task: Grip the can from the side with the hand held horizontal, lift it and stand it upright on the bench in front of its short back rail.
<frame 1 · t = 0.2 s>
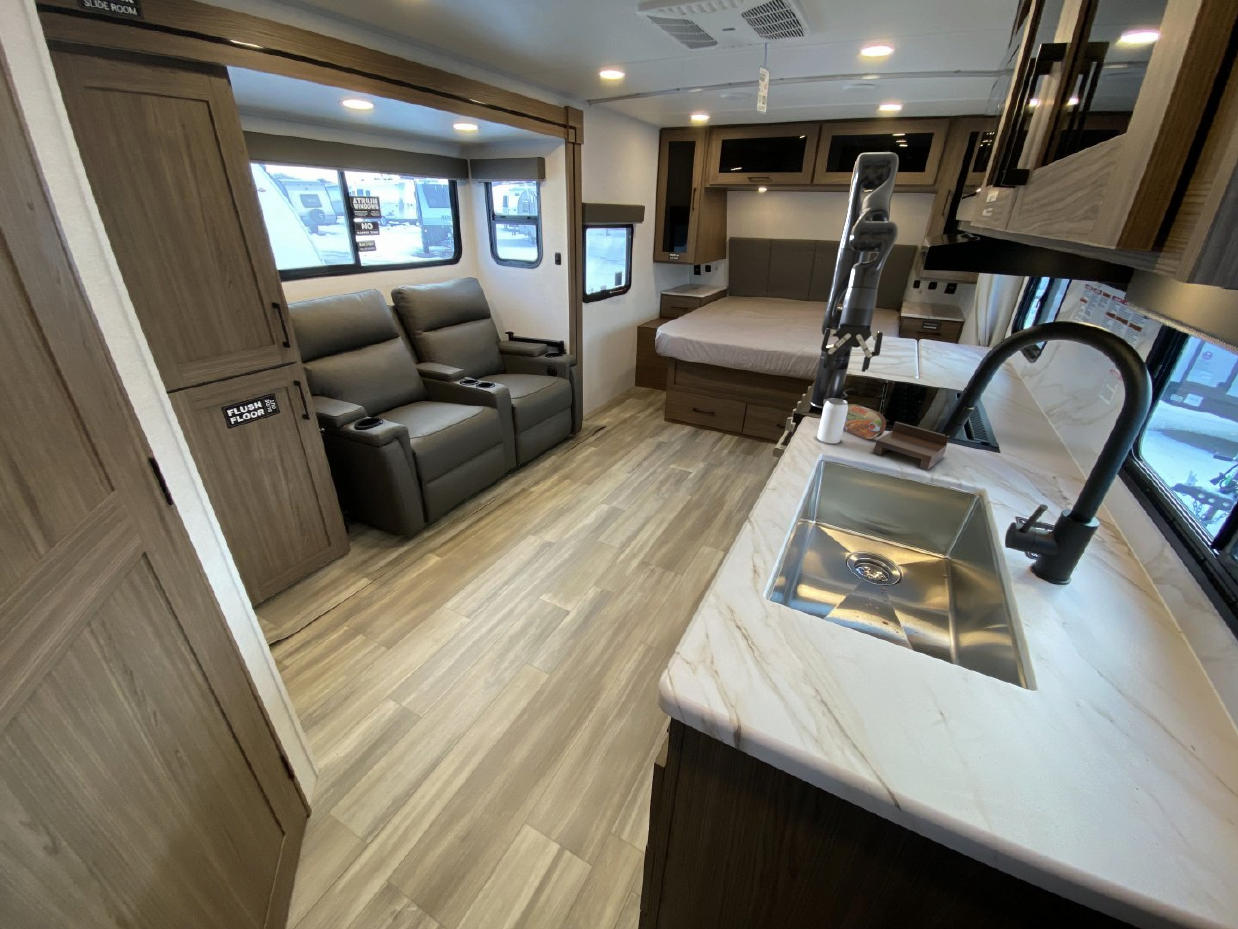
hand: (845, 369, 132), 22 cm above the worktop, tool pointing down, fingers open, 8 cm apart
bench: (907, 455, 137), on the worktop
can: (828, 440, 145), on the worktop
tin: (858, 434, 150), on the worktop
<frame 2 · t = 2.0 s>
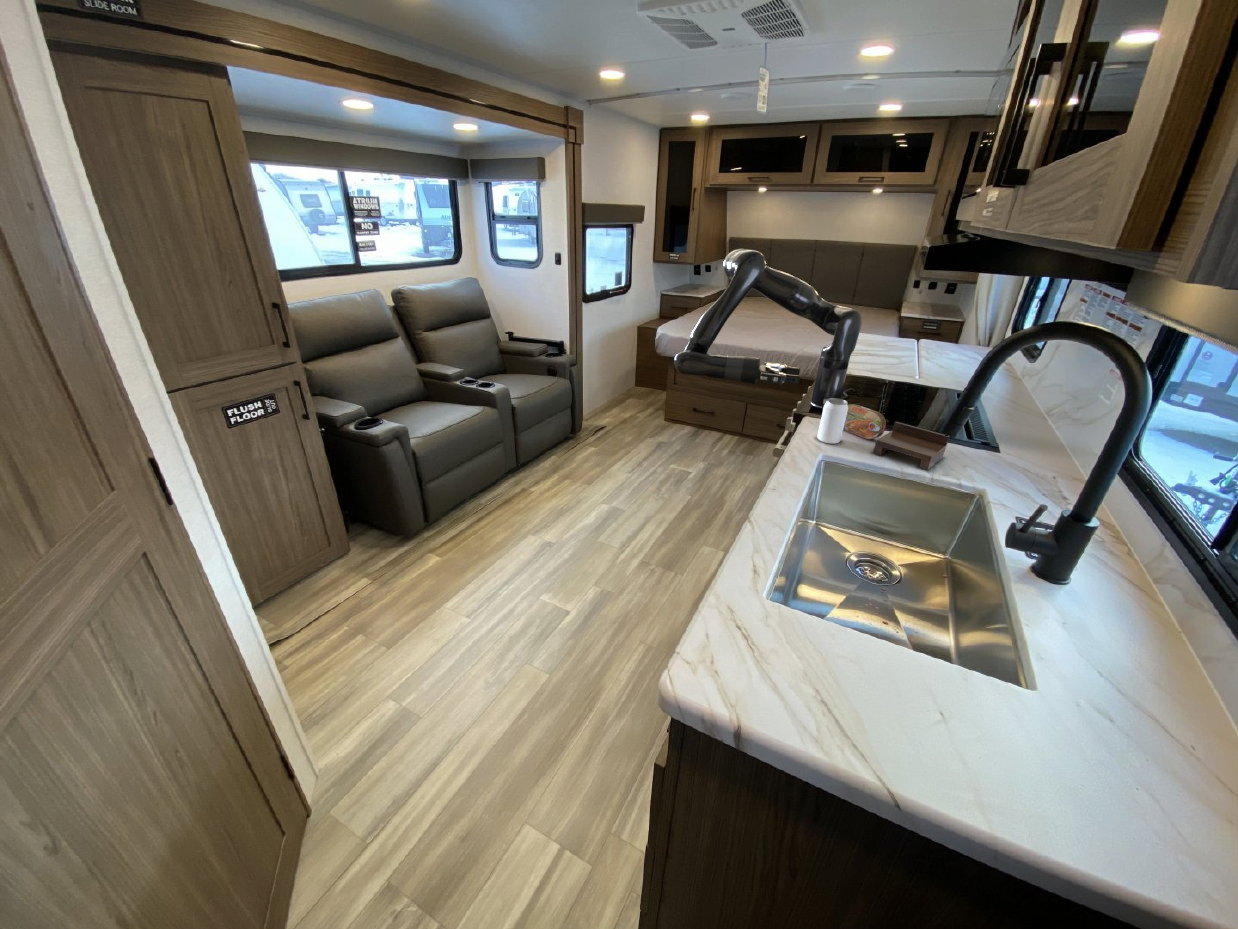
hand: (799, 375, 141), 18 cm above the worktop, tool horizontal, fingers open, 8 cm apart
nothing on the worktop moved.
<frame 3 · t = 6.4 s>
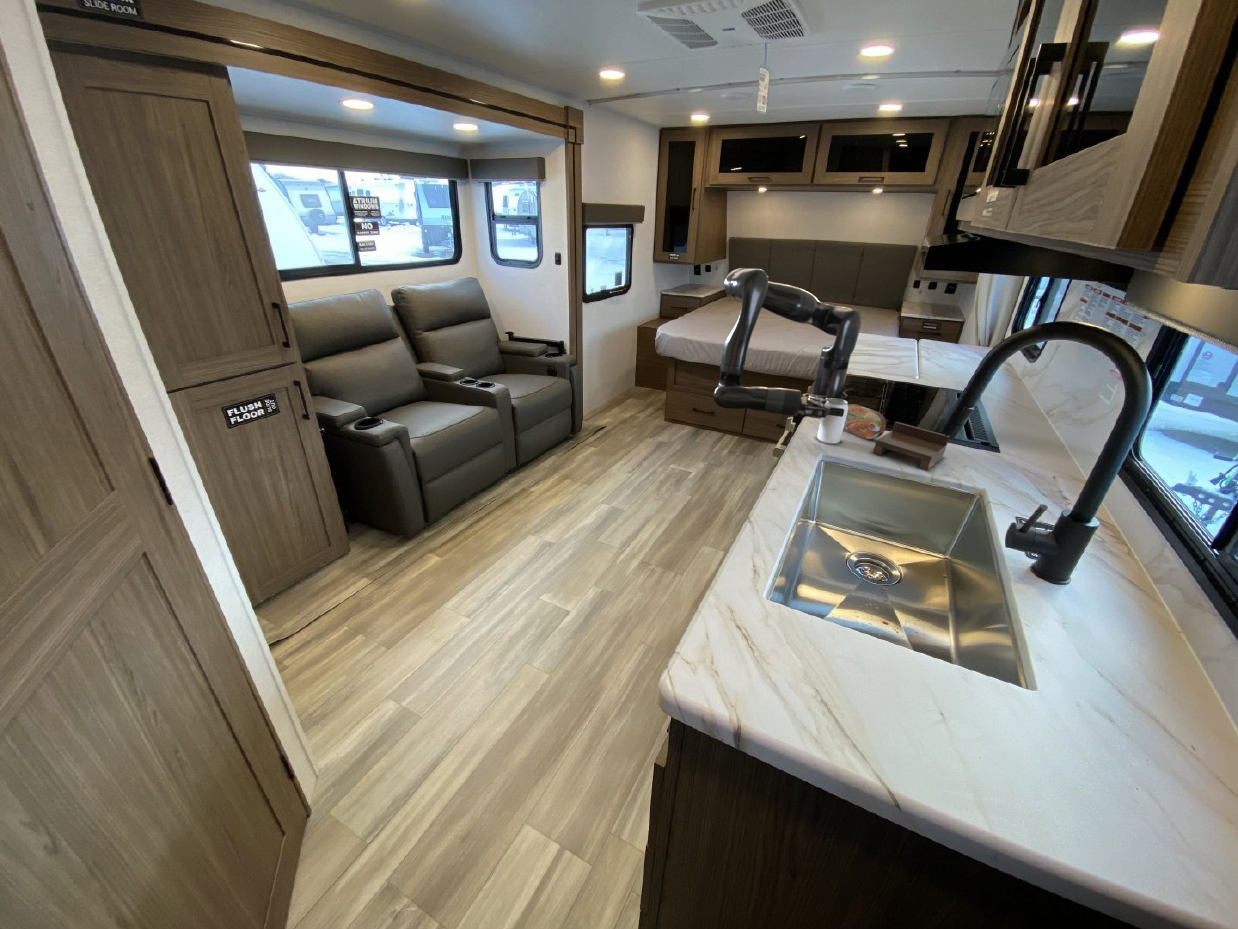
hand: (842, 408, 140), 10 cm above the worktop, tool horizontal, fingers closed on can, 6 cm apart
can: (828, 440, 145), on the worktop, touching gripper
everything else where it was.
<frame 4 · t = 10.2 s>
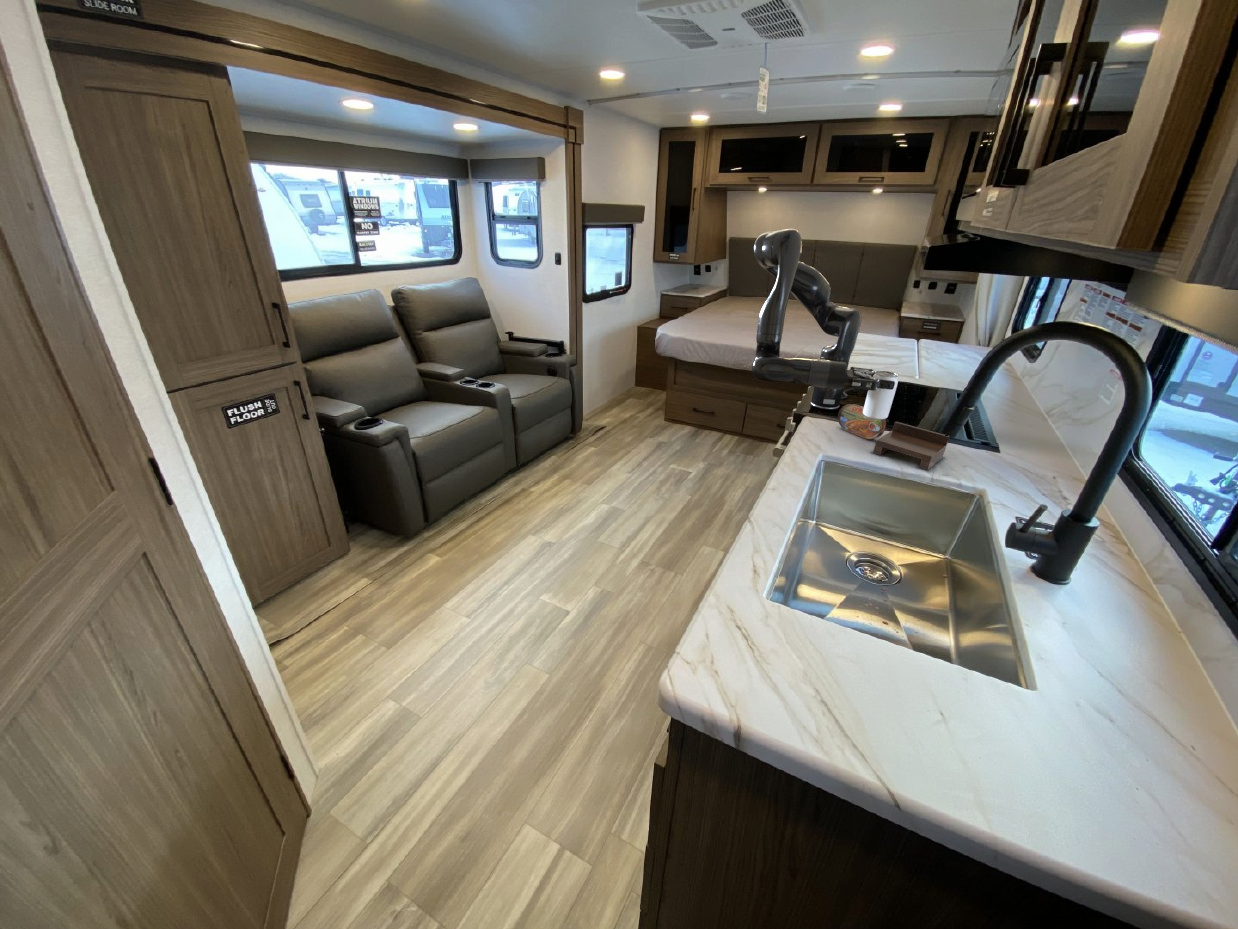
hand: (892, 381, 132), 20 cm above the worktop, tool horizontal, fingers closed on can, 6 cm apart
can: (874, 416, 137), point 9 cm above the worktop, touching gripper
everything else where it was.
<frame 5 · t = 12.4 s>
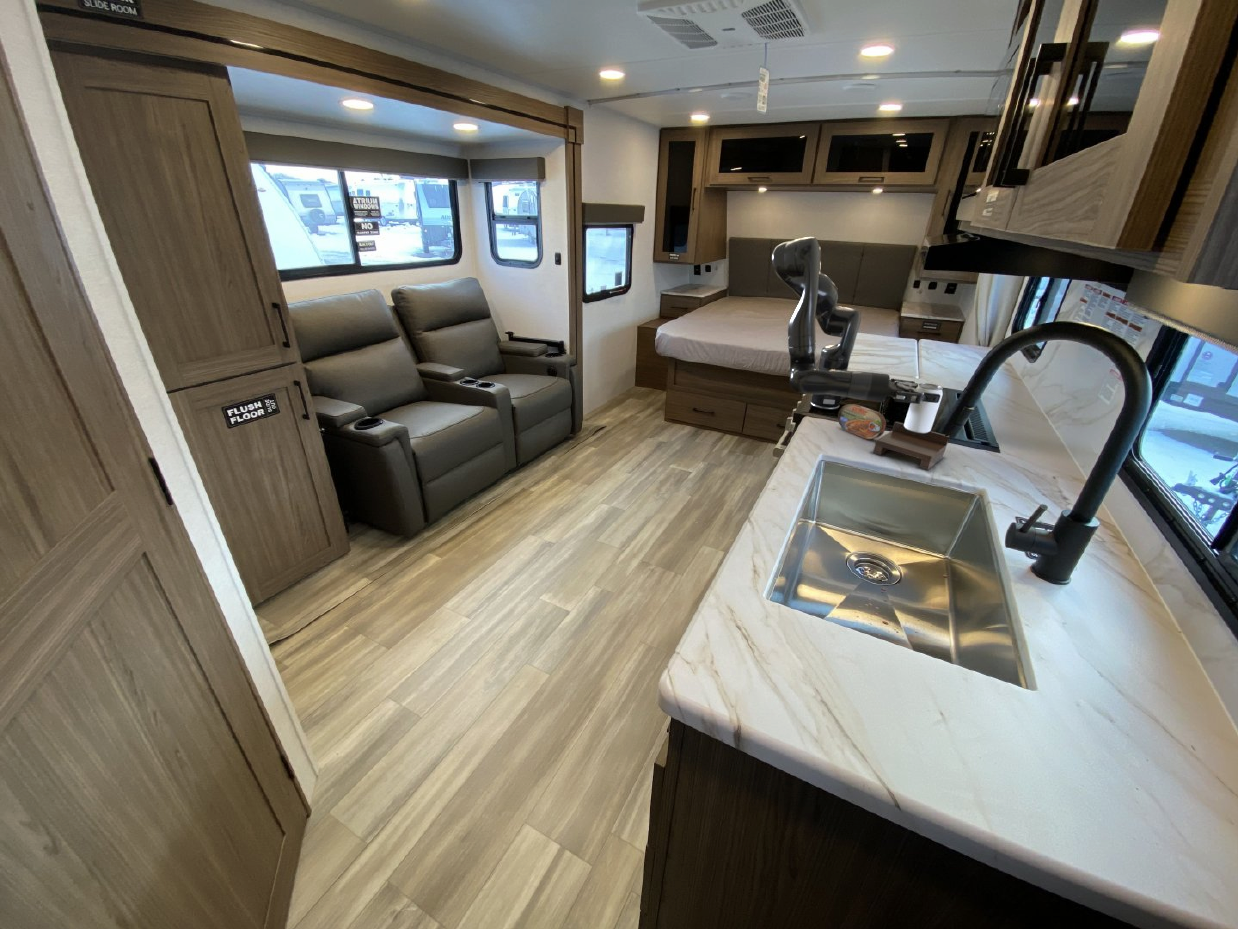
hand: (936, 394, 128), 18 cm above the worktop, tool horizontal, fingers closed on can, 6 cm apart
can: (916, 429, 133), point 8 cm above the worktop, touching gripper
everything else where it was.
when the fingers open (14 cm above the worktop, at t = 14.1 s): can stays where it is, resting on bench.
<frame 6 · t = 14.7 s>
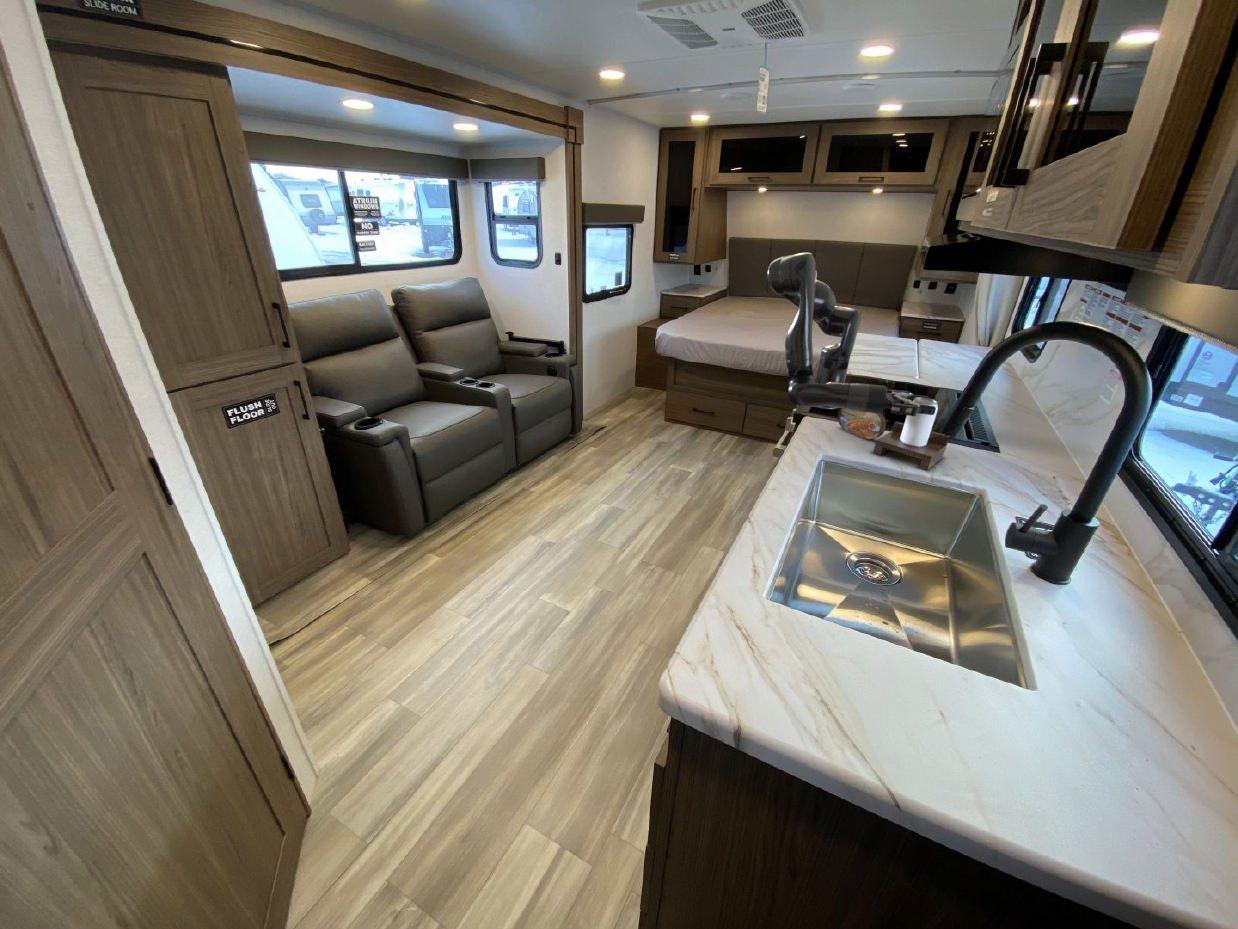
hand: (931, 405, 130), 15 cm above the worktop, tool horizontal, fingers open, 8 cm apart
can: (912, 443, 135), point 4 cm above the worktop, touching bench
everything else where it was.
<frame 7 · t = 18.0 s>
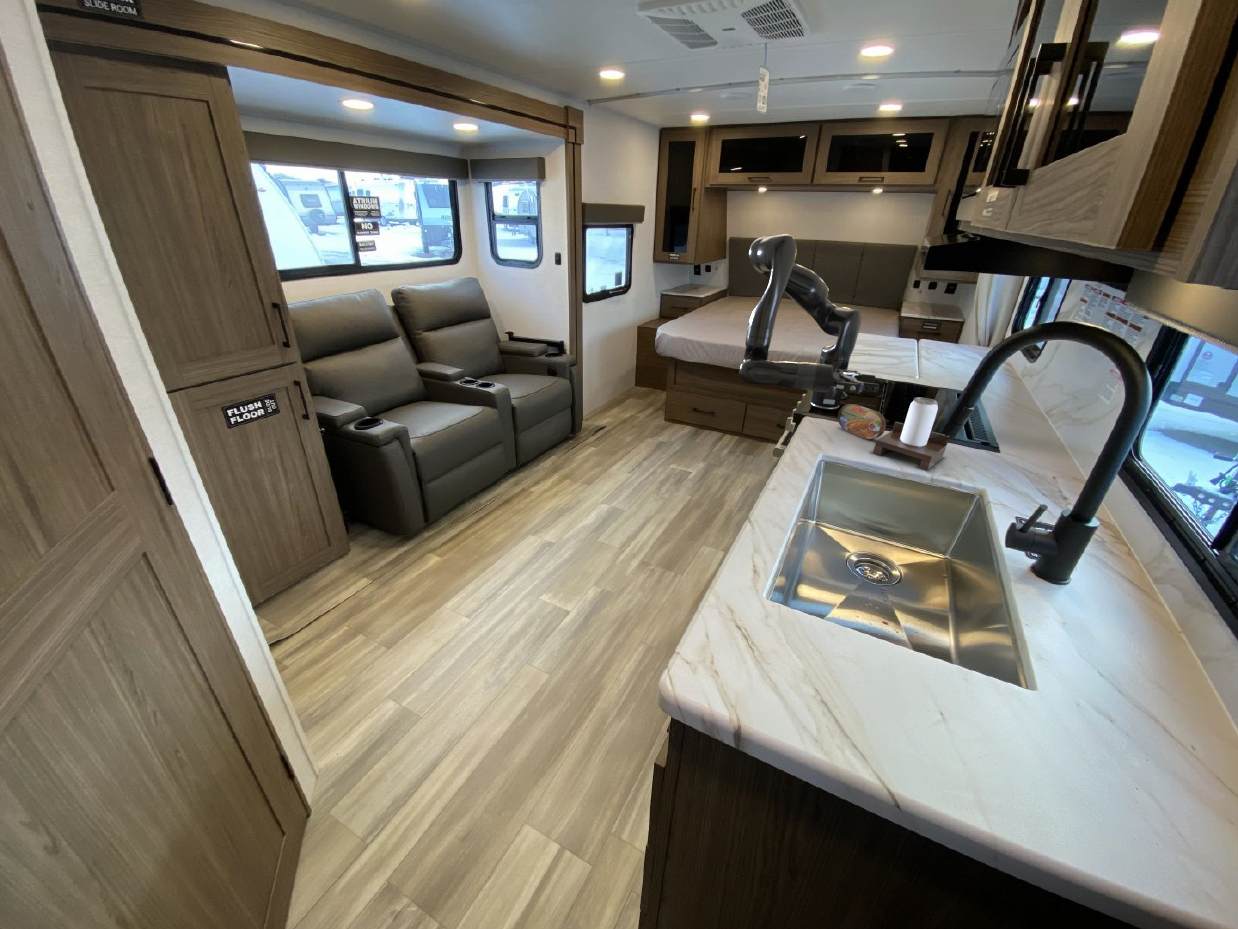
hand: (876, 383, 132), 19 cm above the worktop, tool horizontal, fingers open, 8 cm apart
nothing on the worktop moved.
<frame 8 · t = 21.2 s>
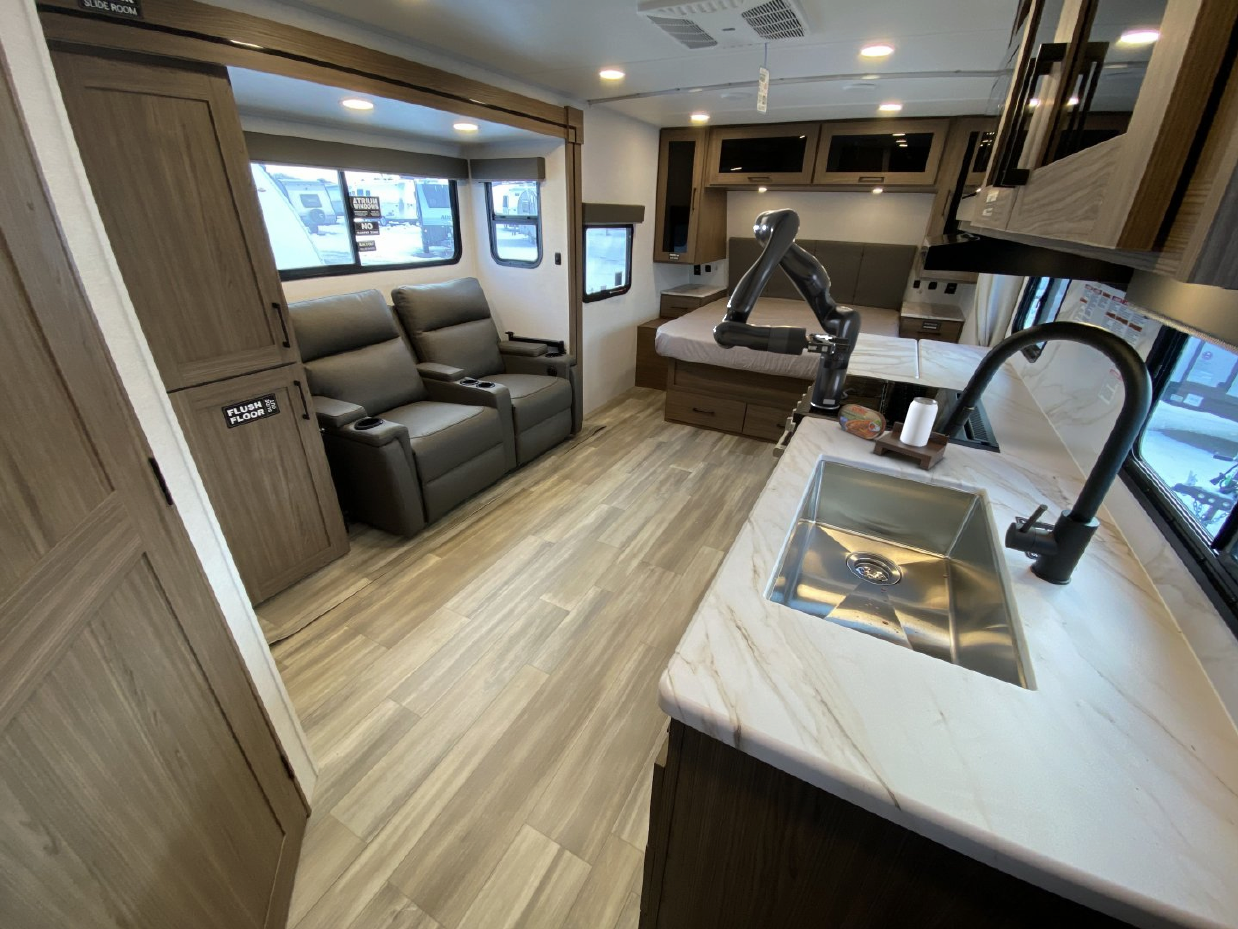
hand: (849, 345, 132), 28 cm above the worktop, tool horizontal, fingers open, 8 cm apart
nothing on the worktop moved.
at the end: can inside the target area on the bench (0.3 cm from its centre), point 3.8 cm above the bench's base; can tilted 0°; the gripper is holding nothing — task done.
